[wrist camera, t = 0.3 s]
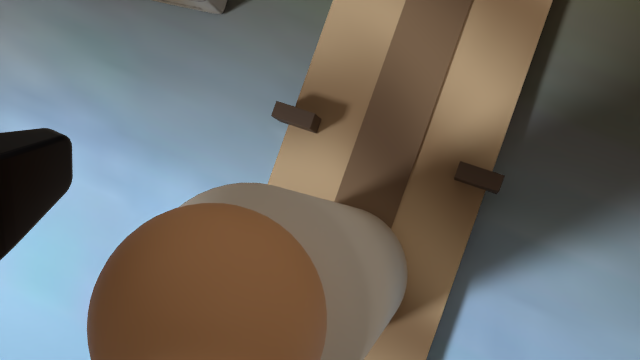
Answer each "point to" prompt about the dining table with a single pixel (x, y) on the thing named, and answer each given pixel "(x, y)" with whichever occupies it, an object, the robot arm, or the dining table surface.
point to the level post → (249, 281)
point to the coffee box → (199, 5)
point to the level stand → (411, 131)
